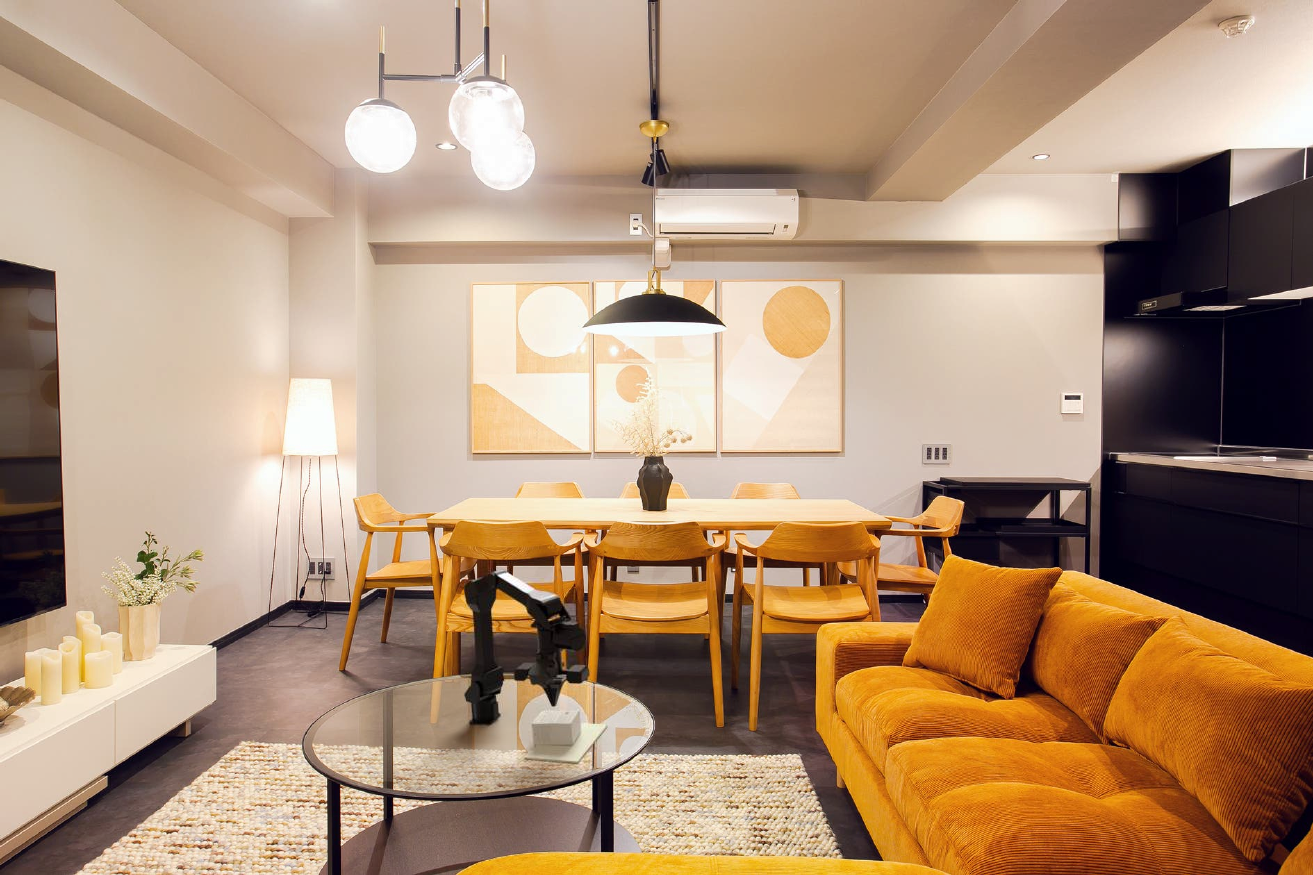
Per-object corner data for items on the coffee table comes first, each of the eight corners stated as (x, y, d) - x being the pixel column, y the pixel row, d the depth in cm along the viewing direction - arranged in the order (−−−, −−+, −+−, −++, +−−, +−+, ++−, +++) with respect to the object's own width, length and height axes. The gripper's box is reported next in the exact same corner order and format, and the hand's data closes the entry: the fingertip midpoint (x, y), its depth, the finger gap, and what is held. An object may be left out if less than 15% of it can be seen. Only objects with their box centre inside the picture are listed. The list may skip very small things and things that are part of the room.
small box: (532, 745, 180) (572, 745, 178) (531, 723, 179) (571, 723, 177) (543, 730, 187) (581, 731, 185) (541, 709, 187) (580, 710, 185)
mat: (524, 758, 173) (524, 756, 173) (559, 722, 193) (559, 721, 193) (577, 763, 169) (577, 761, 169) (607, 726, 189) (607, 724, 189)
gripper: (501, 655, 176) (505, 717, 177) (570, 657, 171) (575, 721, 171) (522, 640, 187) (526, 699, 187) (588, 642, 181) (592, 702, 182)
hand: (554, 705), depth 182 cm, fingers closed
